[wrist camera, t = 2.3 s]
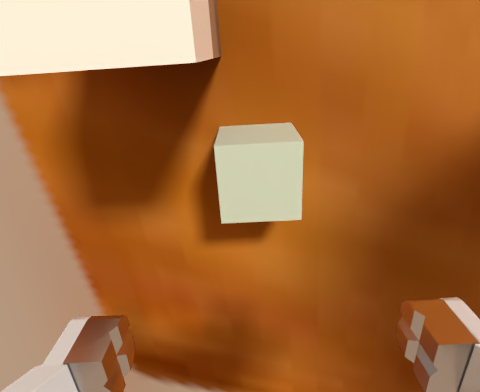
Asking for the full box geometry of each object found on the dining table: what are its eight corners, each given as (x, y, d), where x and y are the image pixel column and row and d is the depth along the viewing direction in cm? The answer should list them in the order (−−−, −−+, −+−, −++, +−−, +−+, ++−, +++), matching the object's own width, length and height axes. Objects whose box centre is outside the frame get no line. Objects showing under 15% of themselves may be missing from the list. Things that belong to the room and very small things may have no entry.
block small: (291, 122, 22) (303, 141, 18) (290, 187, 24) (301, 219, 20) (219, 126, 22) (213, 146, 18) (225, 191, 24) (221, 223, 20)
